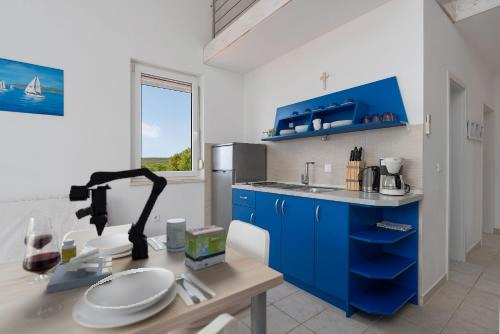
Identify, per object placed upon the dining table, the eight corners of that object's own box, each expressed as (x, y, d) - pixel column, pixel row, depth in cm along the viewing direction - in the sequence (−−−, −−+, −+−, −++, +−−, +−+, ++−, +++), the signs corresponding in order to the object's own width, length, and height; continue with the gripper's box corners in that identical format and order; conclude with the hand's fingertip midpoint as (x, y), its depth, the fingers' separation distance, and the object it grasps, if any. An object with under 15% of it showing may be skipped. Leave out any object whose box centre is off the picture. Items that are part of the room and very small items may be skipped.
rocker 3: (97, 267, 94) (98, 263, 94) (97, 271, 90) (98, 266, 91) (65, 267, 89) (67, 262, 89) (64, 270, 86) (65, 265, 86)
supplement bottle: (68, 264, 106) (68, 242, 105) (58, 263, 107) (58, 241, 107) (79, 259, 111) (79, 238, 111) (69, 259, 112) (69, 237, 112)
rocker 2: (99, 257, 99) (98, 253, 99) (98, 260, 96) (97, 255, 96) (69, 266, 94) (68, 262, 94) (67, 270, 91) (66, 266, 91)
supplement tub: (163, 248, 125) (163, 219, 125) (181, 244, 131) (181, 217, 131) (170, 254, 117) (170, 223, 117) (189, 249, 123) (188, 220, 123)
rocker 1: (99, 251, 104) (98, 247, 104) (99, 254, 101) (97, 250, 101) (72, 262, 99) (70, 258, 99) (70, 265, 96) (69, 261, 96)
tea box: (195, 271, 98) (195, 234, 98) (184, 264, 106) (184, 229, 105) (226, 261, 108) (226, 228, 108) (213, 255, 116) (213, 224, 115)
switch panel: (111, 262, 108) (111, 249, 108) (112, 279, 91) (112, 264, 91) (57, 271, 98) (57, 257, 98) (47, 293, 82) (46, 276, 82)
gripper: (78, 199, 110) (79, 233, 111) (73, 204, 94) (74, 245, 95) (107, 197, 116) (107, 230, 116) (107, 202, 100) (107, 240, 100)
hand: (99, 235), depth 107 cm, fingers closed
